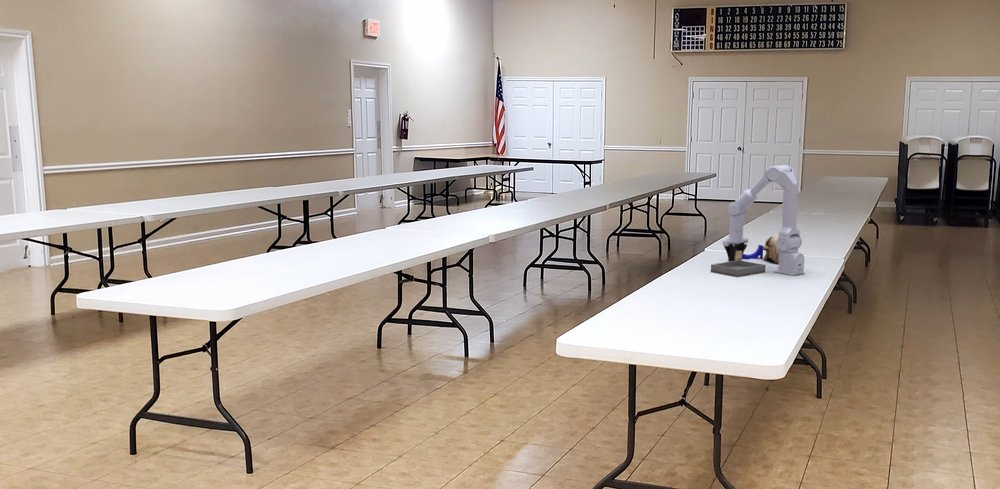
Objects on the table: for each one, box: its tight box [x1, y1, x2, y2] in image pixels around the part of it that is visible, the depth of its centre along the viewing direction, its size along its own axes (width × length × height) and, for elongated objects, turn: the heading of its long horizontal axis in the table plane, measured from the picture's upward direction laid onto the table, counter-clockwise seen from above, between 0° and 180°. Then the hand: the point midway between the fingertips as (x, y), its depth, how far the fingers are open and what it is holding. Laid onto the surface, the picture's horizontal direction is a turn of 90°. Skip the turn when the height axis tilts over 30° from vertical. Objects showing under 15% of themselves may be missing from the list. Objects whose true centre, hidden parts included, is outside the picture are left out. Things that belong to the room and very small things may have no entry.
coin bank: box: [763, 233, 779, 265], centre depth 368 cm, size 16×17×13 cm
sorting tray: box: [710, 260, 767, 278], centre depth 345 cm, size 14×18×3 cm
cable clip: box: [742, 244, 764, 260], centre depth 377 cm, size 12×4×6 cm, turn 85°
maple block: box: [727, 250, 743, 262], centre depth 362 cm, size 4×4×6 cm
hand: (734, 261), depth 363 cm, fingers open, 4 cm apart
